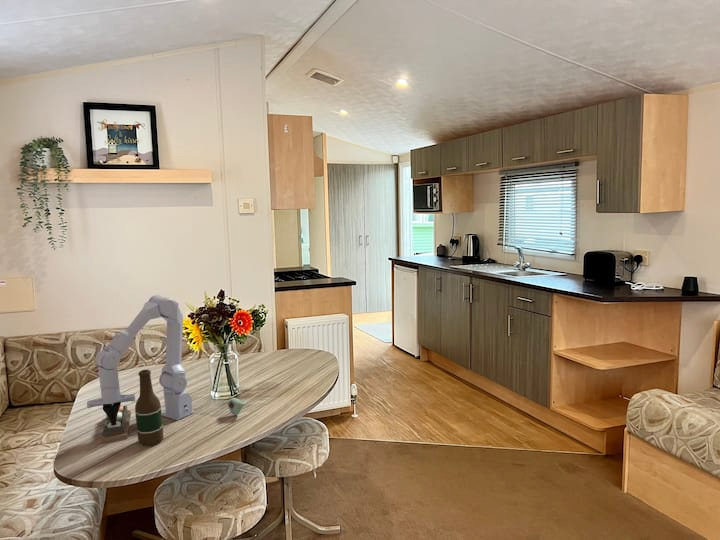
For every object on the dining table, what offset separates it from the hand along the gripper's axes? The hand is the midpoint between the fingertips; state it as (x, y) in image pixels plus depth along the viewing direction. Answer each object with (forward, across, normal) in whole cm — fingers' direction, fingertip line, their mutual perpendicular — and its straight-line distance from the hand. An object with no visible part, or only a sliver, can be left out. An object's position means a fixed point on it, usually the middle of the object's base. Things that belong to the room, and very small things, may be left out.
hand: (114, 424), depth 182 cm
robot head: (+4, -40, 0) cm, 40 cm away
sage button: (+2, 0, 0) cm, 2 cm away
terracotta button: (+1, 0, -13) cm, 13 cm away
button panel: (+4, 0, -6) cm, 8 cm away
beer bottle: (+4, -12, +10) cm, 16 cm away
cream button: (+1, 0, -6) cm, 7 cm away
